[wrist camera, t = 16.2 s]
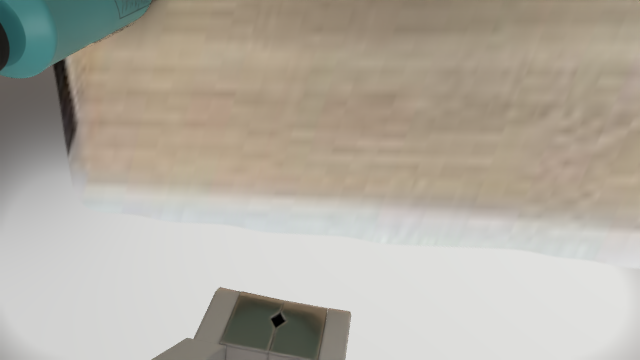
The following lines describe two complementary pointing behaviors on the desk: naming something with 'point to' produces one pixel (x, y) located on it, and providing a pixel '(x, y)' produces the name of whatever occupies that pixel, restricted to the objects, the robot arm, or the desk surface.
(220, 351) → the robot arm
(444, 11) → the desk surface
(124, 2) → the beverage bottle
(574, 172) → the desk surface
